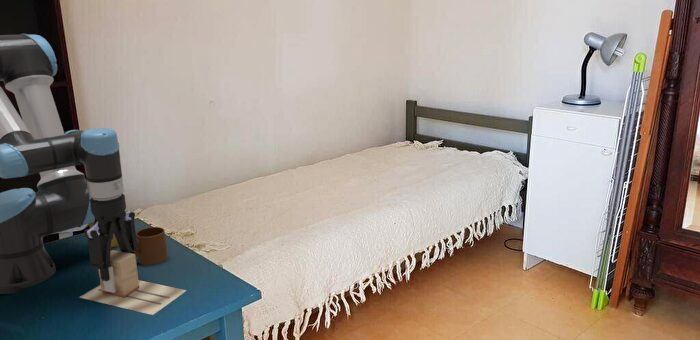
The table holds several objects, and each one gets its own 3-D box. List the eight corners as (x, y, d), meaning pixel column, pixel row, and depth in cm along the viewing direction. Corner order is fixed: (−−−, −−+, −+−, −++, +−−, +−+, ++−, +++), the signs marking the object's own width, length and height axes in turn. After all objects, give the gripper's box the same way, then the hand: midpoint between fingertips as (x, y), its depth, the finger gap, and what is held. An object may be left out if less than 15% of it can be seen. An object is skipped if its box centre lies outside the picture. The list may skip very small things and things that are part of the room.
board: (79, 301, 130) (79, 297, 130) (117, 279, 141) (116, 275, 141) (153, 319, 123) (152, 314, 122) (187, 294, 133) (186, 290, 133)
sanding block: (101, 292, 132) (96, 258, 130) (117, 283, 137) (112, 250, 134) (124, 297, 130) (119, 262, 127) (139, 287, 134) (135, 254, 132)
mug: (130, 277, 142) (125, 244, 139) (118, 268, 147) (114, 236, 145) (173, 263, 150) (169, 231, 147) (160, 255, 155) (157, 224, 153)
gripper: (88, 210, 117) (102, 306, 124) (147, 186, 133) (156, 272, 140) (62, 206, 119) (77, 300, 126) (123, 182, 136) (133, 267, 142)
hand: (119, 285), depth 133 cm, fingers closed on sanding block, 5 cm apart
